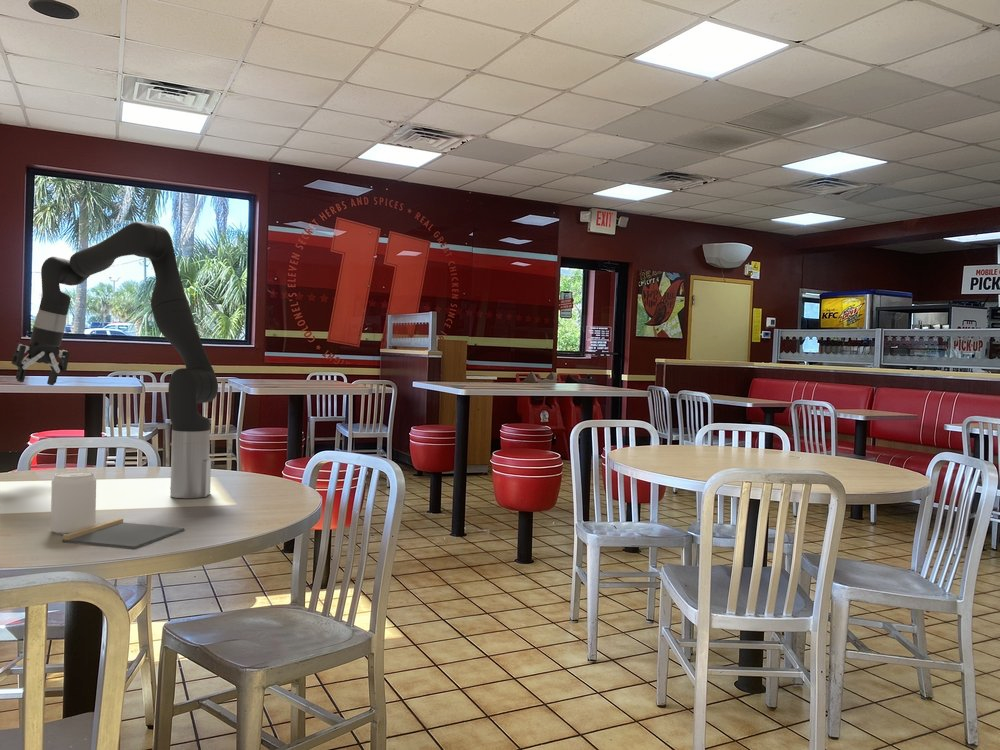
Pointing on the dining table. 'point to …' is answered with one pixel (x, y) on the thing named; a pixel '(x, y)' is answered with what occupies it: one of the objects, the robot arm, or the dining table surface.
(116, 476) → the dining table surface
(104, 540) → the mat
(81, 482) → the beverage can
